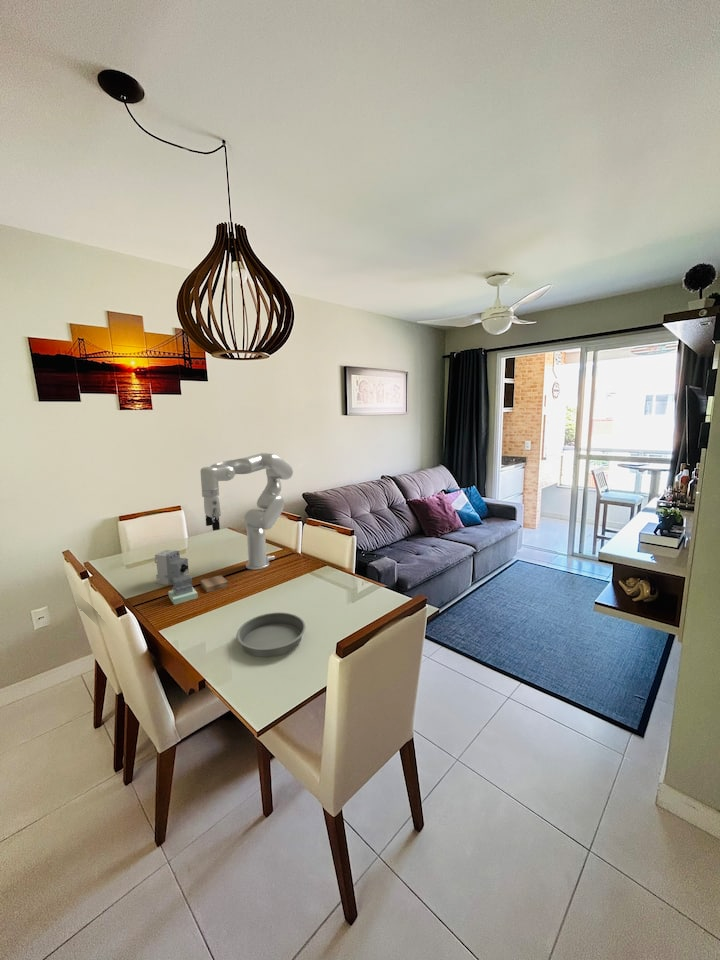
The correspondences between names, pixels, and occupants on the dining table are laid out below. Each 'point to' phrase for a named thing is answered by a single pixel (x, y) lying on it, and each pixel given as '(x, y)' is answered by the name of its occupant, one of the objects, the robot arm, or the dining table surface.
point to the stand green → (182, 596)
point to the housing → (182, 585)
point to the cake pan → (271, 634)
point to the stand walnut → (214, 583)
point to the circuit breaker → (170, 566)
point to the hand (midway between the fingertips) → (212, 527)
